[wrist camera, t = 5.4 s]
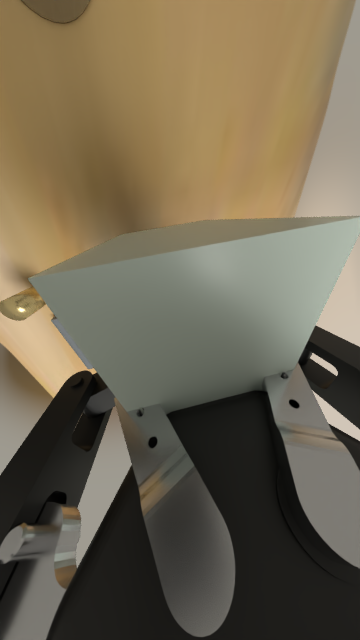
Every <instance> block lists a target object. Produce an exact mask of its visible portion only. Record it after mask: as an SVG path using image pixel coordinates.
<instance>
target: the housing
mask: <svg viewBox="0 0 360 640" xmlns="http://www.w3.org/2000/svg"><path fill="white" fill-rule="evenodd" d="M359 234H360V216H339V217H301V218H264V219H228V220H203V221H197V222H191V223H185V224H179V225H174V226H168V227H162V228H156V229H150V230H145V231H139V232H133V233H127V234H121V235H119V236H117V237H115V238H113V239H111V240H108V241H106V242H104V243H102V244H100V245H98V246H96V247H94V248H91V249H89V250H87V251H85V252H83V253H81V254H79V255H76V256H74V257H72V258H70V259H68V260H66V261H64V262H62V263H59V264H57V265H55V266H53V267H51V268H49V269H47V270H45V271H42V272H40V273H38V274H36V275H34V276H32V277H30V278H27V279H28V280H29V281H30V283H31V284H32V285H33V287H34V288H35V289H36V291H37V292H38V293H39V295H40V296H41V297H42V299H43V300H44V301H45V303H46V304H47V306H48V307H49V308H50V310H51V311H52V312H53V314H54V315H55V316H56V318H57V319H58V320H59V322H60V323H61V324H62V326H63V327H64V328H65V330H66V331H67V332H68V334H69V335H70V336H71V338H72V339H73V340H74V342H75V343H76V344H77V346H78V347H79V349H80V350H81V351H82V353H83V354H84V355H85V357H86V358H87V359H88V361H89V362H90V363H91V365H92V366H93V367H94V369H95V370H96V371H97V373H98V374H99V375H100V377H101V378H102V379H103V381H104V382H105V383H106V385H107V386H108V388H109V389H110V390H111V392H112V393H113V394H114V396H115V397H116V398H117V400H118V401H119V402H120V404H121V405H122V406H123V408H124V409H125V410H126V412H128V411H132V410H136V409H140V411H141V412H142V414H144V410H143V409H142V408H144V407H148V406H152V405H155V404H159V403H160V405H161V406H162V408H163V410H164V412H165V414H169V413H170V412H172V411H176V410H180V409H184V408H188V407H191V406H195V405H199V404H203V403H207V402H211V401H215V400H218V399H222V398H226V397H230V396H234V395H238V394H242V393H246V392H249V391H253V390H256V391H263V390H262V382H263V379H264V377H266V376H270V375H274V374H278V373H280V374H279V375H280V377H281V375H282V373H283V372H286V371H290V370H294V369H295V366H296V364H297V362H298V360H299V358H300V356H301V354H302V352H303V350H304V348H305V346H306V344H307V342H308V340H309V337H310V335H311V333H312V331H313V329H314V327H315V325H316V323H317V321H318V319H319V317H320V315H321V313H322V311H323V308H324V306H325V304H326V302H327V300H328V298H329V296H330V294H331V292H332V290H333V288H334V286H335V284H336V282H337V280H338V277H339V275H340V273H341V271H342V269H343V267H344V265H345V263H346V261H347V259H348V256H349V255H350V252H351V251H352V248H353V246H354V244H355V242H356V240H357V238H358V236H359Z"/></svg>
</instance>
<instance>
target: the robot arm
mask: <svg viewBox="0 0 360 640" xmlns="http://www.w3.org/2000/svg"><path fill="white" fill-rule="evenodd" d="M22 1H23V2H24V3H25V4H26V5H27V6H28V7H29V8H30V9H32V10H33V11H35V12H36V13H37V14H39V15H40V16H41V17H44V18H46V19H48V20H51V21H53V22H61V23H66V22H69V21H72V20H75V19H76V18H77V17H78V16H80V15H81V14H82V13H83V12H84V10H85V8H86V6H87V5H88V3H89V1H90V0H22ZM312 353H314V354H316V355H318V356H319V357H321V358H322V359H324V360H325V361H327V362H328V363H330V364H332V365H333V366H334V367H335V368H336V369H337V371H338V375H337V376H335V375H334V374H332V373H331V372H330V371H328V370H327V369H325V368H324V367H322V366H321V365H319V364H318V363H316V362H315V361H313V360H312V359H310V357H311V355H312ZM279 374H280V373H278V374H274V375H270V376H266V377H264V379H263V382H262V390H263V391H256V390H253V391H249V392H246V393H242V394H238V395H234V396H230V397H226V398H222V399H218V400H215V401H211V402H207V403H203V404H199V405H195V406H191V407H188V408H184V409H180V410H176V411H172V412H170V413H169V414H165V412H164V410H163V408H162V406H161V405H160V403H159V404H155V405H152V406H148V407H144V408H142V409H143V410H144V414H142V412H141V411H140V409H136V410H132V411H128V412H126V410H125V409H124V408H123V406H122V405H121V404H120V402H119V401H118V400H117V398H116V397H115V396H114V394H113V393H112V392H111V390H110V389H109V388H108V386H107V385H106V383H105V382H104V381H103V379H102V378H101V377H100V375H99V374H98V373H95V374H93V375H92V373H91V372H90V371H81V372H78V373H76V374H74V375H72V376H71V377H70V378H69V379H68V380H67V381H66V382H65V383H64V384H63V386H62V387H61V389H60V390H59V392H58V393H57V395H56V396H55V397H54V399H53V400H52V402H51V403H50V405H49V406H48V407H47V409H46V411H45V412H44V413H43V415H42V416H41V418H40V419H39V420H38V422H37V423H36V425H35V426H34V428H33V429H32V430H31V432H30V433H29V435H28V436H27V438H26V439H25V441H24V442H23V443H22V445H21V446H20V448H19V449H18V451H17V452H16V453H15V455H14V456H13V458H12V459H11V461H10V462H9V464H8V465H7V466H6V468H5V469H4V471H3V472H2V474H1V475H0V640H360V441H358V440H357V439H355V438H353V437H351V436H349V435H348V434H346V433H344V432H343V431H341V430H339V429H337V428H335V427H333V426H331V425H330V424H328V422H327V420H326V419H325V416H324V414H323V412H322V410H321V408H320V406H319V404H318V402H317V400H316V398H315V396H314V394H313V392H312V390H313V391H314V392H315V393H316V394H318V395H319V396H320V397H321V398H323V399H324V400H325V401H326V402H327V403H329V404H330V405H331V406H332V407H333V408H335V409H336V410H337V411H338V412H339V413H341V414H342V415H343V416H344V417H345V418H347V419H348V420H349V421H350V422H351V423H353V424H354V425H355V426H356V427H358V428H359V429H360V347H359V346H357V345H355V344H352V343H350V342H348V341H346V340H344V339H342V338H340V337H338V336H336V335H334V334H332V333H330V332H328V331H325V330H324V329H322V328H320V327H318V326H316V325H315V327H314V329H313V331H312V333H311V335H310V337H309V340H308V342H307V344H306V346H305V348H304V350H303V352H302V354H301V356H300V358H299V360H298V362H297V364H296V366H295V369H294V370H290V371H286V372H283V373H282V375H281V377H280V375H279ZM311 389H312V390H311ZM114 406H116V409H117V412H118V416H119V419H120V423H121V427H122V430H123V434H124V438H125V441H126V444H127V448H128V452H129V455H130V459H131V463H132V466H131V467H130V469H129V471H128V473H127V475H126V477H125V479H124V481H123V483H122V484H121V486H120V488H119V490H118V492H117V494H116V496H115V498H114V500H113V502H112V503H111V505H110V507H109V509H108V511H107V513H106V515H105V517H104V519H103V521H102V522H101V524H100V527H99V528H98V530H97V532H96V534H95V536H94V538H93V540H92V541H91V544H90V545H89V547H88V549H87V551H86V553H85V555H84V557H83V559H82V561H81V563H80V565H79V566H78V568H77V566H76V547H77V543H78V541H79V538H80V528H81V516H80V512H79V510H78V509H77V507H78V504H79V502H80V499H81V496H82V493H83V490H84V488H85V485H86V482H87V479H88V476H89V474H90V471H91V468H92V465H93V462H94V459H95V457H96V454H97V451H98V448H99V445H100V442H101V440H102V437H103V434H104V431H105V428H106V425H107V423H108V420H109V417H110V414H111V411H112V408H113V407H114ZM82 413H83V414H82ZM81 415H82V416H81ZM80 417H81V418H80ZM79 419H80V420H79ZM78 421H79V422H78ZM77 423H78V424H77ZM76 425H77V426H76ZM75 427H76V428H75ZM74 429H75V430H74ZM73 431H74V432H73Z"/></svg>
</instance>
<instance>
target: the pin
mask: <svg viewBox="0 0 360 640" xmlns="http://www.w3.org/2000/svg"><path fill="white" fill-rule="evenodd" d="M44 305H46V303H45V301H44V300H43V299H42V297H41V296H40V295H39V293H38V292H37V291H36V289H35V288H34V287H31V288H28V289H26V290H24V291H22V292H20V293H18V294H16V295H14V296H12V297H9V298H7V299H5V300H3V301H1V302H0V312H1V313H2V314H3V315H4V316H6V317H8V318H10V319H12V320H18V321H19V320H24V319H26V318H27V317H29V316H30V315H32V314H33V313H35V312H36V311H37V310H39V309H40V308H42V307H43V306H44Z"/></svg>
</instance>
